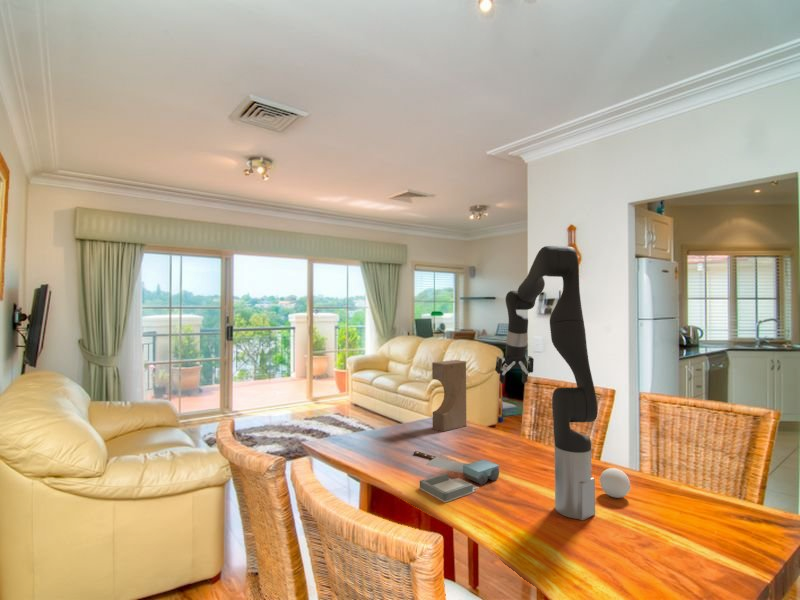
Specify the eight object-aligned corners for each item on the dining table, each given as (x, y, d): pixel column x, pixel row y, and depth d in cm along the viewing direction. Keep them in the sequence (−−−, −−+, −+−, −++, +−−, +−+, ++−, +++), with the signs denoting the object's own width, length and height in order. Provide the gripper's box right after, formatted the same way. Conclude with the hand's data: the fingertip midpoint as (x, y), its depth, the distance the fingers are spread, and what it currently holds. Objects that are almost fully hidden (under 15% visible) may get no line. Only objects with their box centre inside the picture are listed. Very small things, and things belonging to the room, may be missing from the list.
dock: (482, 489, 130) (482, 481, 130) (445, 503, 121) (445, 494, 121) (456, 477, 139) (456, 469, 139) (419, 489, 130) (419, 480, 130)
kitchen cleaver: (402, 457, 156) (419, 449, 164) (402, 460, 156) (419, 451, 164) (458, 475, 140) (474, 465, 148) (458, 478, 140) (474, 468, 148)
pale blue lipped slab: (500, 478, 138) (500, 465, 138) (479, 486, 132) (478, 472, 132) (484, 472, 144) (484, 458, 144) (463, 479, 138) (462, 465, 138)
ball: (594, 491, 128) (594, 464, 128) (619, 490, 129) (619, 463, 129) (609, 503, 120) (609, 474, 120) (636, 502, 121) (636, 473, 121)
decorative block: (455, 422, 205) (454, 359, 205) (466, 426, 199) (466, 361, 199) (432, 428, 195) (431, 362, 196) (443, 432, 189) (443, 364, 190)
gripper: (502, 346, 157) (498, 387, 161) (538, 345, 159) (534, 386, 162) (495, 340, 164) (492, 379, 168) (530, 339, 166) (526, 378, 170)
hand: (513, 382), depth 165 cm, fingers open, 8 cm apart
